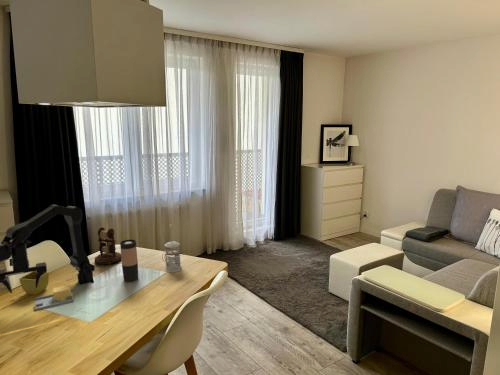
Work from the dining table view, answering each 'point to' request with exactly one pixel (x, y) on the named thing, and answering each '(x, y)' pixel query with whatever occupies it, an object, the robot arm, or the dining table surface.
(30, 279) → the flower pot
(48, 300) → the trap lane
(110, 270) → the dining table surface
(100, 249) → the brown sculpture
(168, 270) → the french press
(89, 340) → the dining table surface
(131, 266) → the travel mug
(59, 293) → the ochre block
